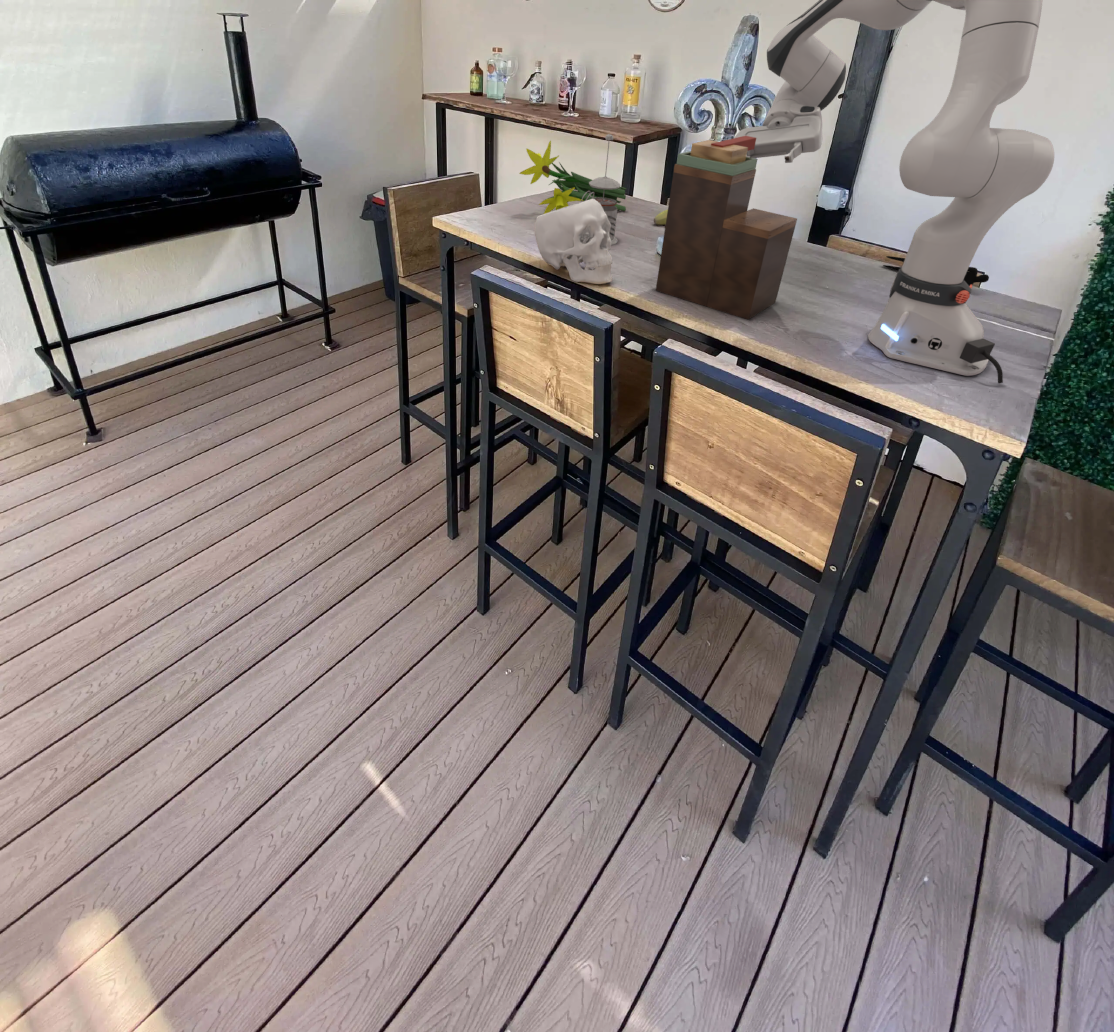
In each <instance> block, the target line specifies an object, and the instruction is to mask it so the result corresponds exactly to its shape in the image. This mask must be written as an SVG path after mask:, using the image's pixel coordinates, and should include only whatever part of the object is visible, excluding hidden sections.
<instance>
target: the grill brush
mask: <svg viewBox="0 0 1114 1032" xmlns="http://www.w3.org/2000/svg"><path fill="white" fill-rule="evenodd" d="M755 142H756V138H755V137H750V136H742V137H738V138H734V137H733V138H729V139H725V140H721V141H717V140H711V139H705V140H702V141H701V140H700V141H698V142H693V143H691V147H690V151H691V154H690V156H695V157H700V158H704V159H709V160H714V161H719V162H724V163H729V164H736V163H740V162H743V161H745V159H746V155H747V151H749V150H753V149H754V147H755Z"/></svg>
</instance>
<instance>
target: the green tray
mask: <svg viewBox="0 0 1114 1032" xmlns="http://www.w3.org/2000/svg"><path fill="white" fill-rule="evenodd" d="M690 154H691V150H689V151H684V152H681V153H678V154H677V159H676V164H678V165H683V166H687V167H692V168H697V169H701V170H706V171H711V172H716V173H720V174H725V175H730V176H734V175H738V174H741V173H744V172H748V171H751V170H754V169H756V170H757V165H758V159H759V158H750V157H746V159H745V161H743V162H740V163H736V164H729V163H724V162H719V161H714V160H709V159H704V158H700V157H695V156H690Z"/></svg>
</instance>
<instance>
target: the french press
mask: <svg viewBox="0 0 1114 1032" xmlns="http://www.w3.org/2000/svg"><path fill="white" fill-rule="evenodd" d="M605 140H606V141H608V143H607V155H606V164H605V175H604V176H598V177H596V178H593V179H592V181H590V182H589V185H590V186H591V187H593V188H597V189H604V191H605V189H607V190H610V189H618V188H620V187H622V186H621V184H620V182H618V181H617V180H615V179H613V178H612V177H608V176H607V169H608V162H609V161H608V160H609V149H610V141H613V140H614V136H613V134H610V133H608V134H606V135H605ZM587 192H590V191H587ZM587 192H586V193H587ZM586 193H585V194H586ZM592 193H594V192H592ZM592 193H591V192H590V194H589V195H588V197H589V196H590V197H592V196H591V194H592ZM585 194H584V195H583V197H584V196H585ZM583 197H582V200H583ZM588 197H587V199H588ZM593 197H594V194H593ZM593 197H592V198H591V199H595V200H596V201H598V202H599V203H600V204H601V206H602V208H603V210H604V212H605V213H606V215H607V217H608V220H609V222H610V224H611V228H610V232H609V236H610V239H611V246H614V245H616V244H617V243H618V239H617V237H616V236H615V234H616V227H617V226H616V224H617V218H618V217H617V216H618V210H617V207H615V206H613V205H616V204H618V203H617V201H616V200H613V199H608V198H604V193H603V197H600V198H599V197H598V198H597V197H595V198H593ZM587 199H586V200H585V201H587ZM582 200H581V201H580V202H582Z"/></svg>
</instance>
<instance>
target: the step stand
mask: <svg viewBox="0 0 1114 1032" xmlns="http://www.w3.org/2000/svg"><path fill="white" fill-rule="evenodd" d="M756 172H757V168H756V169H754V170H751V171H748V172H744V173H741V174H738V175H734V176H730V175H725V174H720V173H716V172H711V171H706V170H701V169H697V168H692V167H687V166H683V165H678V164H677V163H675V164H674V166H673V174H672V181H671V187H670V192H669V193H670V194H669V200H668V206H667V209H668V212H667V219H666V225H664V226H665V227H664V232H663V240H662V246H661V252H660V259H659V264H658V265H659V266H658V272H657V277H656V278H657V279H656V284H655V285H656V286H655V291H656V292H659V293H662V294H665V295H668V296H671V297H675V298H678V299H682V300H685V301H688V302H691V303H694V304H698V305H701V306H703V307H707V308H710V309H713V310H715V311H719V312H722V313H726V314H729V315H732V316H736V317H739V318H742V319H745V320H749V321H750V319H752V318H753V317H755V316H757V315H758V314H760V313H762V312H763V311H765V310H766V309H768V308H769V307H771V306H773V305H774V304H776V301H777V298H778V294H779V290H780V287H781V282H782V279H783V276H784V271H785V267H786V263H787V260H788V256H789V252H790V249H791V244H792V241H793V237H794V234H795V229H796V225H797V221H798V218H796V217H792V216H788V215H784V214H780V213H775V212H770V211H766V210H762V209H759V208H753V207H752V208H751V209H748V208H749V205H750V200H751V196H752V190H753V186H754V181H755V177H756Z"/></svg>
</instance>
